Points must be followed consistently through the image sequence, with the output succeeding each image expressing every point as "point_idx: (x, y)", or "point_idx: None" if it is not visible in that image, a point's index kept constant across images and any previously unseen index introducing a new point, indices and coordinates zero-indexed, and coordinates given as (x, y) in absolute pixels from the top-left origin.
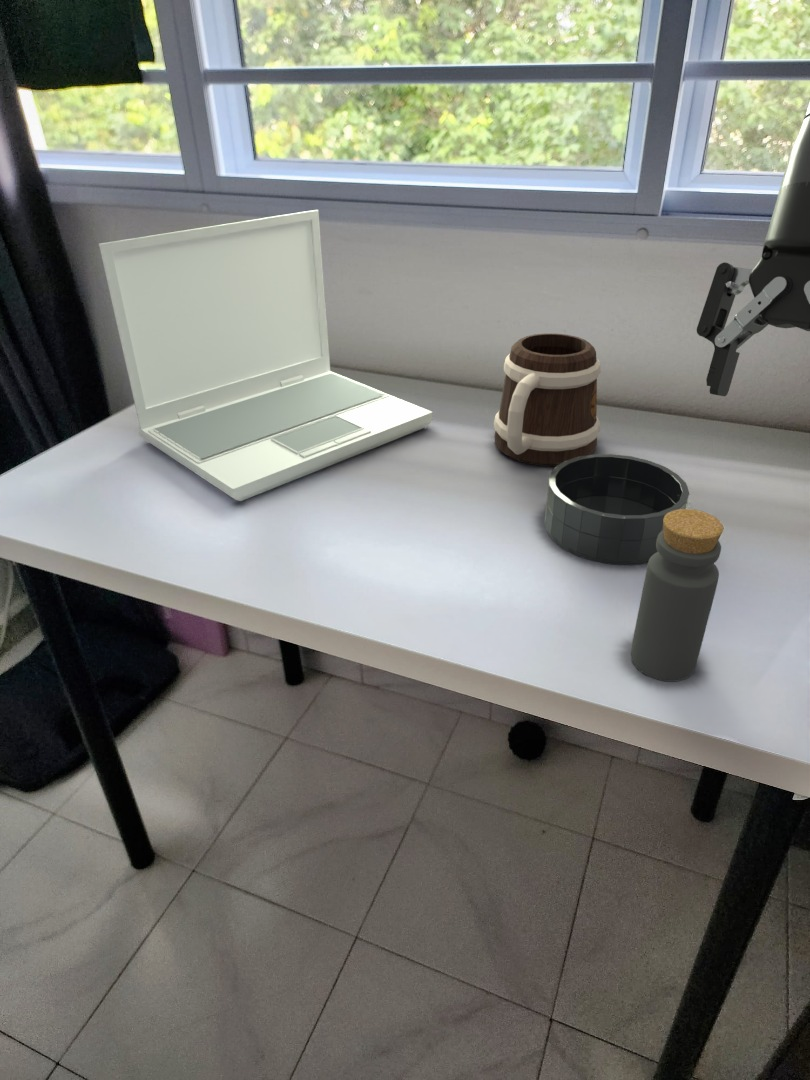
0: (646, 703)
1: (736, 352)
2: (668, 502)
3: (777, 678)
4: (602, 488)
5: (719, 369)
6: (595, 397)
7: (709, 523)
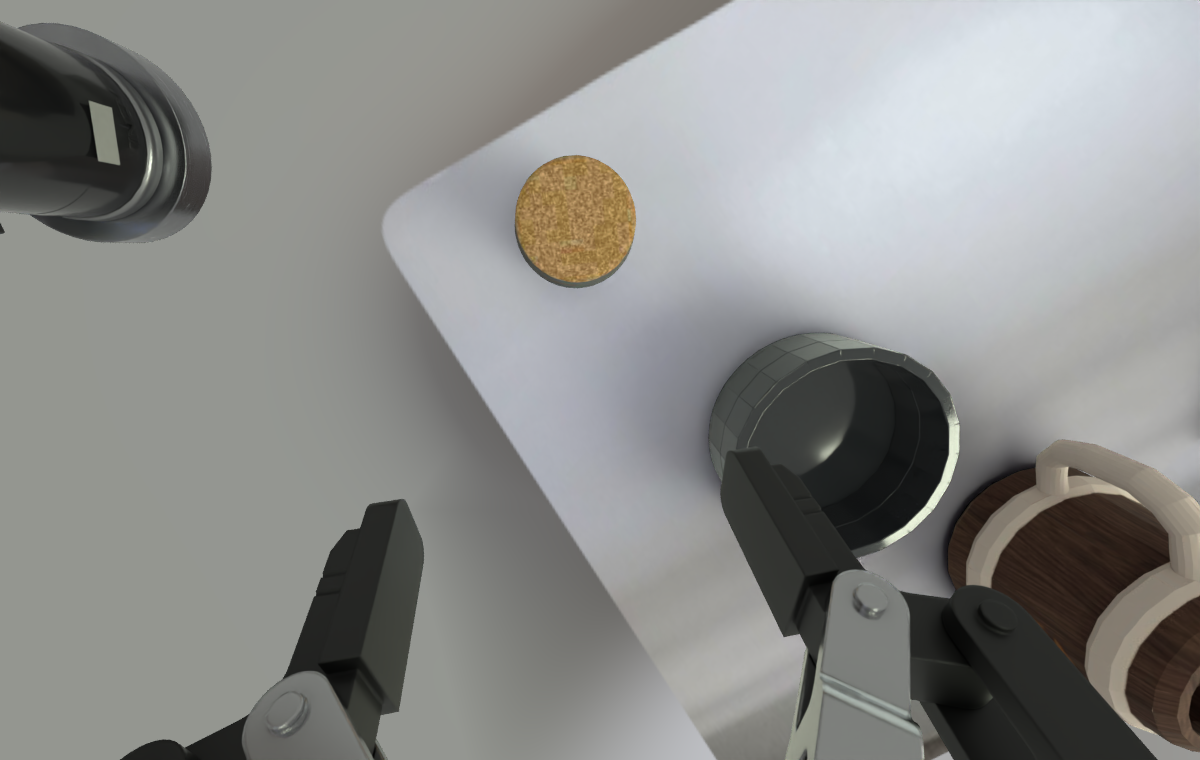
0: (535, 145)
1: (788, 617)
2: None
3: (465, 322)
4: (872, 489)
5: (779, 503)
6: None
7: (553, 246)
